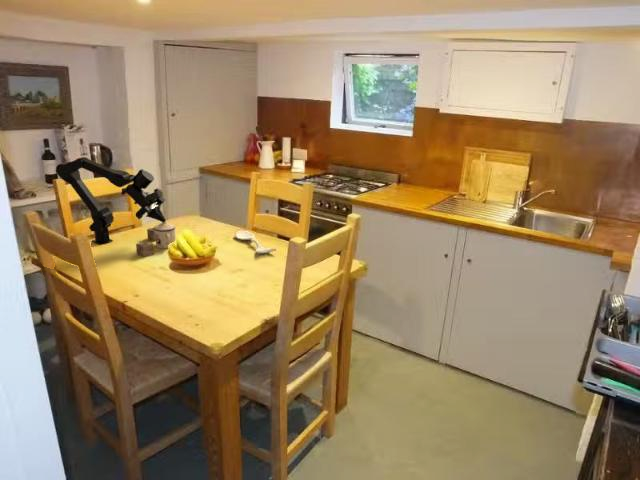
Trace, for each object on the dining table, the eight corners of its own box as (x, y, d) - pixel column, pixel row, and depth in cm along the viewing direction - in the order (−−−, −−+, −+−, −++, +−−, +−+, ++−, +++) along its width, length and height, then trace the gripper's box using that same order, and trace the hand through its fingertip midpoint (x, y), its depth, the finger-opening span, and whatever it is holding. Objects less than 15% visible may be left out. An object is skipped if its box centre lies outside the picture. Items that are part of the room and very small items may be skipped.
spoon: (258, 258, 201) (258, 251, 200) (232, 236, 226) (231, 229, 225) (276, 255, 205) (277, 248, 204) (249, 234, 231) (249, 227, 230)
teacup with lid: (153, 243, 212) (151, 219, 208) (173, 241, 216) (172, 217, 212) (159, 252, 202) (157, 227, 198) (180, 249, 206) (178, 224, 203)
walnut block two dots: (137, 255, 198) (135, 243, 197) (146, 251, 202) (145, 240, 201) (144, 257, 196) (143, 246, 194) (154, 254, 200) (153, 243, 198)
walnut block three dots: (147, 239, 217) (147, 228, 216) (156, 236, 221) (155, 226, 220) (154, 241, 215) (154, 231, 213) (163, 238, 219) (162, 228, 217)
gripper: (140, 188, 191) (167, 215, 194) (159, 179, 209) (184, 204, 211) (123, 205, 195) (151, 232, 197) (144, 195, 212) (169, 219, 215)
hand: (164, 221), depth 205 cm, fingers closed
